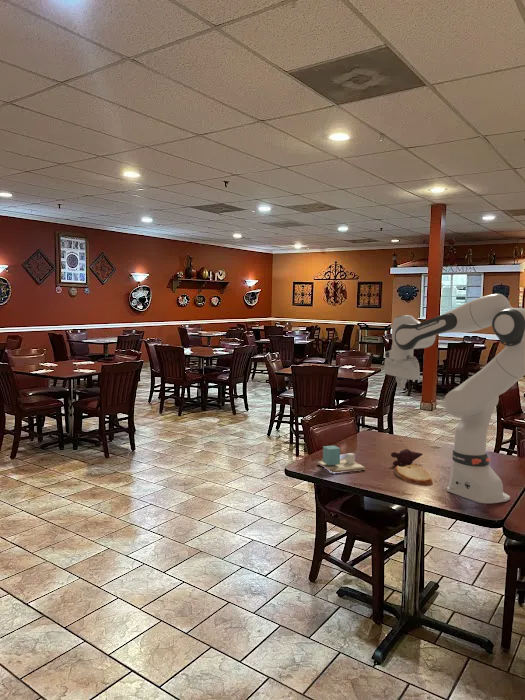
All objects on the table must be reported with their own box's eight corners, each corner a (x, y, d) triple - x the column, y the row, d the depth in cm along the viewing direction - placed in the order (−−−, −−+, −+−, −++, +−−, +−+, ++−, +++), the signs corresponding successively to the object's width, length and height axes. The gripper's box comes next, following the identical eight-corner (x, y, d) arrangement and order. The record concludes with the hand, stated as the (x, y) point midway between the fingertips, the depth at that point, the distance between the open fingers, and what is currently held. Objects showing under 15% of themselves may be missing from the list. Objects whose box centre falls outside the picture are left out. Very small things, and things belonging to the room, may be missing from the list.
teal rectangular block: (339, 464, 226) (340, 448, 225) (328, 465, 224) (328, 449, 223) (333, 460, 231) (334, 445, 230) (322, 461, 229) (323, 446, 228)
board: (365, 470, 225) (365, 467, 225) (332, 474, 220) (332, 470, 220) (348, 461, 238) (348, 458, 238) (317, 464, 233) (317, 461, 233)
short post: (354, 463, 230) (354, 454, 230) (349, 464, 229) (349, 455, 229) (351, 462, 232) (351, 452, 232) (346, 462, 231) (346, 453, 231)
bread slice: (430, 487, 206) (430, 478, 206) (384, 479, 216) (385, 469, 216) (443, 475, 221) (443, 466, 221) (400, 468, 231) (400, 459, 231)
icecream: (416, 446, 241) (386, 451, 237) (425, 445, 234) (394, 451, 230) (419, 461, 240) (389, 467, 236) (428, 462, 233) (397, 468, 229)
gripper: (424, 356, 216) (423, 391, 217) (394, 352, 235) (393, 384, 236) (410, 357, 214) (409, 392, 215) (382, 352, 233) (381, 384, 234)
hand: (401, 388), depth 226 cm, fingers closed
